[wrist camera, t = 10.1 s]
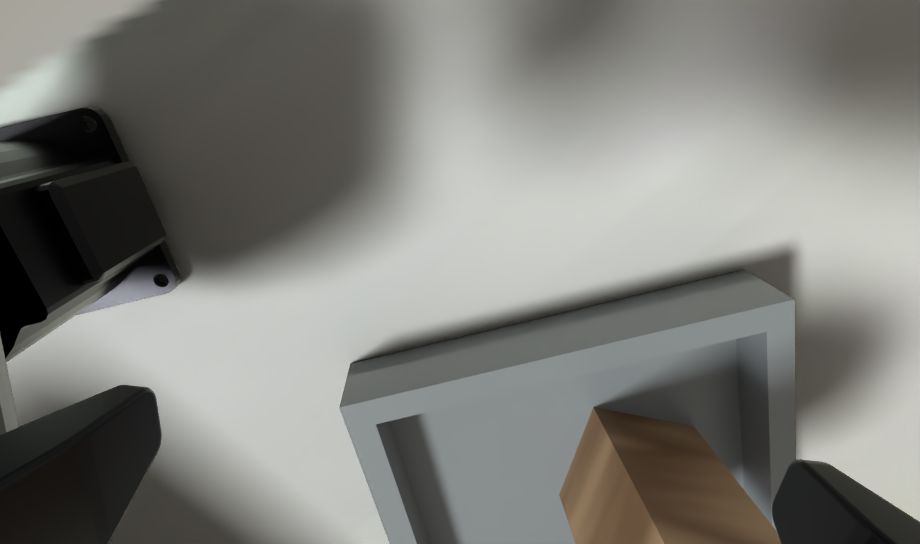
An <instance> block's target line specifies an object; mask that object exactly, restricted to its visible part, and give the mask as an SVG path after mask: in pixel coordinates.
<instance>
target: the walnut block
mask: <svg viewBox="0 0 920 544" xmlns="http://www.w3.org/2000/svg"><path fill="white" fill-rule="evenodd" d="M559 496H560V499H561V502H562V505H563V508H564V511H565V514H566V517H567V520H568V523H569V526H570V529H571V532H572V535H573V538H574V541H575V544H781V542H780V539H779V536H778V533H777V531H776V530H775V529H774V527H773V526H772V525H771V523H770V522H769V521H768V520H767V518H766V517H765V516H764V515H763V513H762V512H761V511H760V509H759V508H758V507H757V506H756V504H755V503H754V502H753V501H752V499H751V498H750V497H749V495H748V494H747V493H746V492H745V490H744V489H743V488H742V487H741V485H740V484H739V483H738V481H737V480H736V479H735V478H734V476H733V475H732V474H731V473H730V471H729V470H728V469H727V468H726V466H725V465H724V464H723V462H722V461H721V460H720V459H719V457H718V456H717V455H716V454H715V452H714V451H713V450H712V448H711V447H710V446H709V445H708V443H707V442H706V441H705V440H704V438H703V437H702V436H701V434H700V433H699V432H698V431H697V429H696V428H695V427H694V426H692V425H686V424H681V423H676V422H670V421H665V420H659V419H654V418H649V417H643V416H638V415H632V414H627V413H622V412H616V411H611V410H605V409H600V408H595V407H593V409H592V412H591V414H590V417H589V419H588V422H587V424H586V427H585V430H584V432H583V435H582V437H581V440H580V442H579V445H578V447H577V450H576V453H575V455H574V458H573V460H572V463H571V465H570V468H569V471H568V473H567V476H566V478H565V481H564V483H563V486H562V489H561V491H560V494H559Z"/></svg>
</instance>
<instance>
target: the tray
mask: <svg viewBox="0 0 920 544" xmlns="http://www.w3.org/2000/svg"><path fill="white" fill-rule="evenodd" d="M593 407H595V408H600V409H605V410H611V411H616V412H622V413H627V414H632V415H638V416H643V417H649V418H654V419H659V420H665V421H670V422H676V423H681V424H686V425H692V426H694V427H695V428H696V429H697V431H698V432H699V433H700V434H701V436H702V437H703V438H704V440H705V441H706V442H707V443H708V445H709V446H710V447H711V448H712V450H713V451H714V452H715V454H716V455H717V456H718V457H719V459H720V460H721V461H722V462H723V464H724V465H725V466H726V468H727V469H728V470H729V471H730V473H731V474H732V475H733V476H734V478H735V479H736V480H737V481H738V483H739V484H740V485H741V487H742V488H743V489H744V490H745V492H746V493H747V494H748V495H749V497H750V498H751V499H752V501H753V502H754V503H755V504H756V506H757V507H758V508H759V509H760V511H761V512H762V513H763V515H764V516H765V517H766V518H767V520H768V521H769V522H770V523H771V525H772V526H773V527H774V529H775V530H776V527H775V525H774V521H773V517H772V504H773V500H774V498H775V495H776V493H777V491H778V489H779V486H780V484H781V482H782V480H783V477H784V475H785V473H786V471H787V468H788V467H789V465H790V464H791V463H792V462H793V461H795V460H796V420H795V299H793V298H792V297H790V296H788V295H787V294H785V293H783V292H782V291H780V290H778V289H776V288H775V287H773V286H771V285H770V284H768V283H766V282H765V281H763V280H761V279H759V278H758V277H756V276H754V275H753V274H751V273H749V272H748V271H746V270H741V271H737V272H733V273H728V274H724V275H720V276H716V277H712V278H708V279H703V280H699V281H695V282H691V283H687V284H682V285H678V286H674V287H670V288H666V289H661V290H657V291H653V292H649V293H645V294H641V295H636V296H632V297H628V298H624V299H620V300H615V301H611V302H607V303H603V304H599V305H594V306H590V307H586V308H582V309H578V310H574V311H569V312H565V313H561V314H557V315H553V316H548V317H544V318H540V319H536V320H532V321H527V322H523V323H519V324H515V325H511V326H507V327H502V328H498V329H494V330H490V331H486V332H481V333H477V334H473V335H469V336H465V337H460V338H456V339H452V340H448V341H444V342H440V343H435V344H431V345H427V346H423V347H419V348H414V349H410V350H406V351H402V352H398V353H393V354H389V355H385V356H381V357H377V358H373V359H368V360H364V361H360V362H356V363H352V364H350V368H349V372H348V376H347V380H346V384H345V388H344V392H343V396H342V400H341V404H340V410H341V413H342V416H343V418H344V421H345V424H346V426H347V429H348V432H349V435H350V437H351V440H352V443H353V445H354V448H355V451H356V453H357V456H358V459H359V462H360V464H361V467H362V470H363V472H364V475H365V478H366V481H367V483H368V486H369V489H370V491H371V494H372V497H373V500H374V502H375V505H376V508H377V510H378V513H379V516H380V518H381V521H382V524H383V527H384V529H385V532H386V535H387V537H388V540H389V543H390V544H575V541H574V538H573V535H572V532H571V529H570V526H569V523H568V520H567V517H566V514H565V511H564V508H563V505H562V502H561V499H560V496H559V494H560V491H561V489H562V486H563V483H564V481H565V478H566V476H567V473H568V471H569V468H570V465H571V463H572V460H573V458H574V455H575V453H576V450H577V447H578V445H579V442H580V440H581V437H582V435H583V432H584V430H585V427H586V424H587V422H588V419H589V417H590V414H591V412H592V409H593ZM776 531H777V530H776Z"/></svg>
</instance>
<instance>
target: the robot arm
mask: <svg viewBox="0 0 920 544" xmlns="http://www.w3.org/2000/svg"><path fill="white" fill-rule="evenodd" d="M88 117H92V118H93V119H94V120H95V121H96V124H97V128H96V130H95V131H94V130H92V129H90V127H89V126H88V123H87V120H88ZM165 236H166V232H165V230H164V228H163V226H162V223H161V221H160V219H159V217H158V214H157V212H156V210H155V208H154V205H153V203H152V201H151V199H150V196H149V194H148V192H147V190H146V187H145V185H144V183H143V181H142V178H141V176H140V174H139V172H138V169H137V168H136V167H135V166H134V165H132V164H131V163H130V162H129V160H128V158H127V156H126V153H125V151H124V149H123V147H122V144H121V142H120V140H119V138H118V135H117V133H116V131H115V129H114V127H113V124H112V122H111V120H110V118H109V117H108V115H107V114H106V113H105V112H103V111H102V110H101V109H98V108H95V107H93V108H80V109H76V110H72V111H68V112H64V113H60V114H56V115H52V116H48V117H44V118H40V119H36V120H32V121H28V122H24V123H20V124H15V125H11V126H7V127H3V128H0V544H109V542H110V540H111V539H112V537H113V535H114V533H115V531H116V529H117V527H118V526H119V524H120V522H121V520H122V518H123V516H124V514H125V512H126V511H127V509H128V507H129V505H130V503H131V501H132V499H133V497H134V496H135V494H136V492H137V490H138V488H139V486H140V484H141V482H142V481H143V479H144V477H145V475H146V473H147V471H148V469H149V467H150V466H151V464H152V462H153V460H154V458H155V456H156V454H157V452H158V450H159V447H160V443H161V427H160V420H159V414H158V407H157V401H156V396H155V393H154V392H153V391H152V390H151V389H150V388H147V387H139V386H130V385H120V386H117V387H114V388H112V389H109V390H107V391H105V392H102V393H100V394H97V395H95V396H93V397H90V398H88V399H85V400H83V401H81V402H78V403H76V404H73V405H71V406H69V407H66V408H64V409H61V410H59V411H57V412H54V413H52V414H49V415H47V416H45V417H42V418H40V419H37V420H35V421H33V422H30V423H28V424H25V425H23V426H21V427H19V425H18V420H17V415H16V410H15V405H14V400H13V395H12V390H11V385H10V380H9V375H8V370H7V365H6V362H7V361H9V360H10V359H12V358H13V357H15V356H16V355H18V354H19V353H21V352H22V351H24V350H25V349H26V348H28V347H29V346H31V345H32V344H34V343H35V342H37V341H38V340H40V339H41V338H43V337H44V336H46V335H47V334H49V333H50V332H51V331H53V330H54V329H56V328H57V327H59V326H60V325H62V324H63V323H65V322H66V321H68V320H69V319H71V318H72V317H74V316H75V315H79V314H83V313H87V312H91V311H95V310H100V309H104V308H108V307H112V306H116V305H120V304H124V303H129V302H133V301H137V300H141V299H145V298H149V297H153V296H157V295H162V294H166V293H168V292H171V291H172V290H173V289H175V288H176V287H177V286H178V284H179V283H180V279H181V278H180V274H179V271H178V269H177V267H176V265H175V262H174V260H173V258H172V256H171V254H170V251H169V249H168V247H167V245H166V242H165V240H164V238H165ZM159 274H163V275H165V276H166V277H167V278H168V282H169V283H164V282H162V281H161V280H160V279H159ZM772 517H773V521H774V525H775V527H776V530H777V533H778V536H779V539H780V542H781V544H920V522H919V521H918V520H916V519H914V518H913V517H911V516H910V515H908V514H907V513H905V512H903V511H902V510H900V509H899V508H897V507H896V506H894V505H892V504H891V503H889V502H888V501H886V500H885V499H883V498H882V497H880V496H878V495H877V494H875V493H874V492H872V491H871V490H869V489H867V488H866V487H864V486H863V485H861V484H860V483H858V482H856V481H855V480H853V479H852V478H850V477H849V476H847V475H846V474H844V473H842V472H841V471H839V470H838V469H836V468H835V467H833V466H831V465H830V464H827V463H824V462H818V461H809V460H795V461H793V462H792V463H791V464H790V465H789V467H788V468H787V471H786V473H785V475H784V477H783V480H782V482H781V484H780V486H779V489H778V491H777V493H776V495H775V498H774V500H773V504H772Z"/></svg>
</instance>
